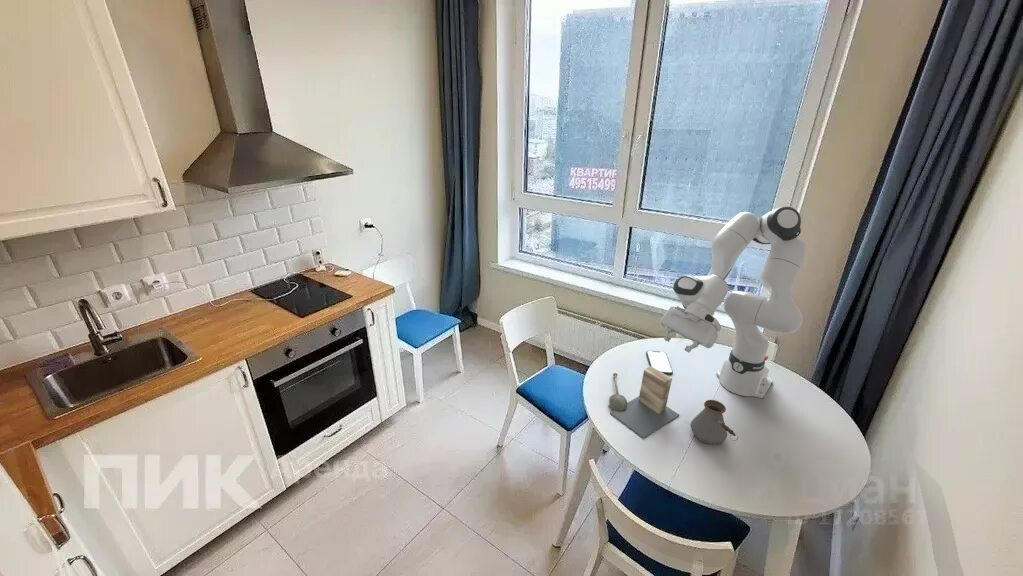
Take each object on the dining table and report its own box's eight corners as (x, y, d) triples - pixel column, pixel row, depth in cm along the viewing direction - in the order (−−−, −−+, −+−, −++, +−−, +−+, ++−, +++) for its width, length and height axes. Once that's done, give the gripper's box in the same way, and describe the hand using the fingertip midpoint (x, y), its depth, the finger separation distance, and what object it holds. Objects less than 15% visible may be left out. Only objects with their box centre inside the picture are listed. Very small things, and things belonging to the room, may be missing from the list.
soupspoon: (608, 411, 150) (627, 414, 149) (610, 404, 149) (628, 406, 148) (607, 375, 170) (623, 377, 169) (608, 368, 168) (624, 370, 167)
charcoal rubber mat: (645, 393, 159) (645, 392, 159) (679, 415, 148) (679, 414, 148) (609, 413, 149) (610, 412, 149) (643, 438, 138) (643, 437, 137)
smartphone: (673, 376, 171) (665, 354, 185) (673, 373, 170) (666, 351, 185) (651, 374, 172) (645, 352, 186) (652, 371, 171) (645, 350, 186)
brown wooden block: (645, 396, 157) (651, 366, 151) (665, 409, 150) (672, 378, 145) (638, 400, 155) (644, 369, 149) (658, 413, 148) (665, 382, 142)
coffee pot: (684, 422, 145) (693, 388, 139) (718, 425, 144) (728, 391, 138) (704, 471, 126) (714, 434, 120) (743, 475, 125) (756, 437, 119)
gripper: (670, 300, 155) (649, 330, 153) (721, 322, 139) (699, 355, 138) (675, 307, 159) (655, 336, 158) (725, 330, 144) (704, 362, 142)
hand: (676, 345), depth 148 cm, fingers open, 7 cm apart
